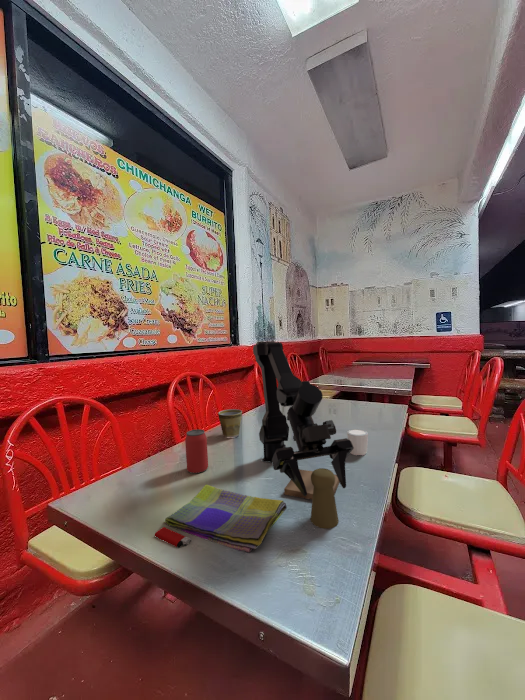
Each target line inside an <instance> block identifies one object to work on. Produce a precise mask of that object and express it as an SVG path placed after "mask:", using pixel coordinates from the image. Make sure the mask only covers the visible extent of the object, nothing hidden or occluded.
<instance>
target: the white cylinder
mask: <svg viewBox="0 0 525 700" xmlns="http://www.w3.org/2000/svg"><path fill="white" fill-rule="evenodd" d="M346 435H347V439H349V440H350V441H351V442H352V444H353V447H354V449H353V450H352V451H351V452H350V454H351V455H353V456H357V455H362V456H365V454H366V453H367V452H368V443H369V442H368V439H369V438H368V437H369V433H368V431H366V430H363V429H358V428H357V429H349V430H347V431H346ZM366 455H367V454H366Z"/></svg>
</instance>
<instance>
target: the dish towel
mask: <svg viewBox="0 0 525 700" xmlns="http://www.w3.org/2000/svg"><path fill="white" fill-rule="evenodd" d="M287 506H288V505H287V503H286V502H284V500H281V499H272V498H263V497H256V496H252V495H247V494H241V493H237V492H234V491H230V490H224V489H221V488H217V487H216V486H212V485H209V484H207V483H206V484H205V485H204V486H203V487H202V489H201V490H200V491H199V492H198V493H197V494H196V495H195V496H194V497H193V498H192V499H191V500H190V501H189V502H187V504H185V505H183V506H182V507H181V508H179V509H178V510H176V511H175V512H174V513H171V515H169V516H167V517H165V520H164V521H163V522H162V524H163V523H165V525H167V524H168V525H167V526H169V525H170V526H169V527H171V528H173V529H175V528H176V530H177V531H181V532H185V533H188V534H190V535H192V536H195V537H198V538H201V539H204V540H206V541H208V542H212V543H214V544H218V545H222V546H225V547H227V548H230V549H233V550H238V551H244V552H246V553H250V552H251V551H252V550H256V549H257V548H258V547H259V546H260V545H261V544H262V543H263V540H264V539H265V537H266V535H267V533H268V532H269V531H270V529H271V528H272V527H273V525H274V524H275V523H276V522H277V520H278V519H279V518H280V517H281V516H282V515H283V514H284V512H285V511H286V510H287Z"/></svg>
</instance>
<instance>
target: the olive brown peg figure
mask: <svg viewBox="0 0 525 700" xmlns="http://www.w3.org/2000/svg"><path fill="white" fill-rule="evenodd" d="M312 471H313V472H312V474H311V482H312V485H313V486H314V488H313V499H312V500H311V512H310V522H311V523H312V525H314V526H315V527H316V528H319V529H328V530H329V529H333V528H335V527H337V526H338V524H339V515H338V508H337V503H336V497H335V495H334V491H333V486H334V484H335V476H334V475H335V474H334V472H333V471H332V470H330V469H328V468H324V467H323V468H320V467H319V468H316V469H314V470H312Z"/></svg>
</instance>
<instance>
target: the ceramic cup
mask: <svg viewBox="0 0 525 700" xmlns="http://www.w3.org/2000/svg"><path fill="white" fill-rule="evenodd" d="M217 414H218V421H219V424H220V428H221V432H222V433H221V434H222V436H223V437H224V438H225V437H235V438H238V437H239V435H240V430H241V423H242V417H243V410H241V409H236V408H230V409H224V410H220V411H219V412H217ZM237 436H238V437H237Z"/></svg>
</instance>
